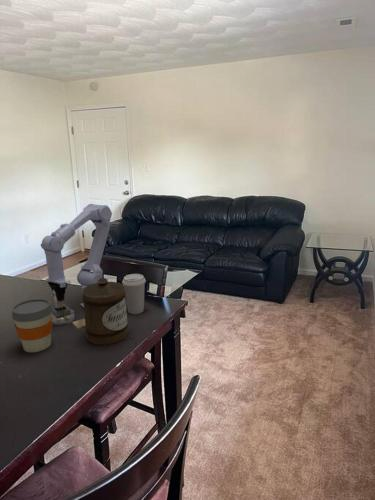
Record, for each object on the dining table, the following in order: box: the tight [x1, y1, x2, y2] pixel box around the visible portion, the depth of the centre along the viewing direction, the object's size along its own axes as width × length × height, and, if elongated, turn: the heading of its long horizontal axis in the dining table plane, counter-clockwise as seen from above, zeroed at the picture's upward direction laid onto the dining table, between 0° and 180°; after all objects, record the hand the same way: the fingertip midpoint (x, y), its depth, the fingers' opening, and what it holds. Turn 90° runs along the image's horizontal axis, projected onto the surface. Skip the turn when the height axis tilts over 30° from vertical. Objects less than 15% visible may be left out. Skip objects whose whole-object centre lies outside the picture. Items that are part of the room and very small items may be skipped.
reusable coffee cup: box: [11, 298, 53, 353], centre depth 126 cm, size 13×13×15 cm
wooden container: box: [82, 277, 129, 346], centre depth 132 cm, size 15×15×22 cm
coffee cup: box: [121, 273, 147, 315], centre depth 151 cm, size 10×10×15 cm
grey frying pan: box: [51, 308, 76, 326], centre depth 145 cm, size 18×10×2 cm, turn 127°
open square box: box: [51, 304, 71, 318], centre depth 145 cm, size 6×8×2 cm
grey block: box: [50, 289, 66, 308], centre depth 145 cm, size 5×3×7 cm, turn 127°
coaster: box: [71, 317, 86, 330], centre depth 143 cm, size 6×6×1 cm
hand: (59, 299), depth 145 cm, fingers closed on grey block, 3 cm apart
